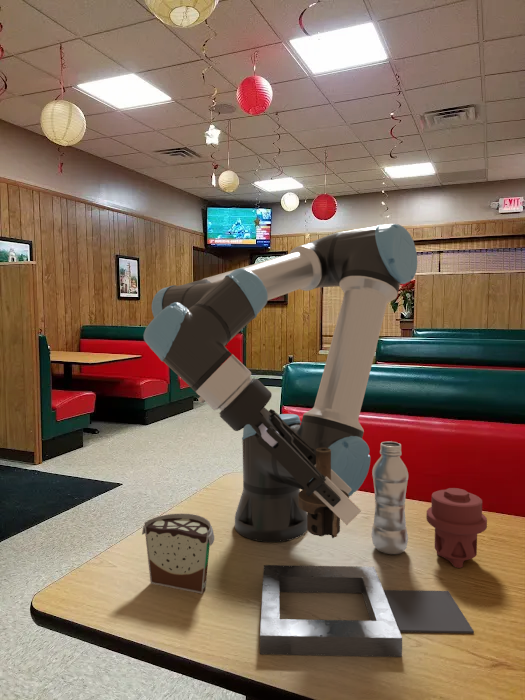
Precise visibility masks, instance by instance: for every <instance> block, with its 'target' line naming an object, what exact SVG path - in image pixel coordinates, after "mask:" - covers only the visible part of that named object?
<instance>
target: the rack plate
mask: <svg viewBox="0 0 525 700" xmlns="http://www.w3.org/2000/svg"><path fill="white" fill-rule="evenodd" d="M262 574H263V577H262V593H261V610H260V611H261V612H260V613H261V614H260V631H259V632H260V633H259V652H260V653H259V654H260V655H280V656H281V655H282V656H283V655H287V656H328V657H329V656H330V657H331V656H333V657H334V656H336V657H337V656H339V657H383V658H386V657H387V658H389V657H390V658H391V657H392V658H402V657H403V637H402V634H401V632H400V631H399V628H398V626H397V623H396V621H395V618H394V616H393V613H392V611H391V608H390V606H389V603H388V600H387V598H386V595H385V593H384V590H385V589H384V588H383V585H382V583H381V581H380V578H379V576H378V573H377V570H376V568H375V566H357V565H355V566H354V565H353V566H351V565H350V566H349V565H348V566H347V565H345V566H343V565H341V566H340V565H290V564H289V565H287V564H286V565H282V564H281V565H280V564H278V565H277V564H273V565H272V564H268V565H267V564H264V565H263V573H262ZM280 593H323V594H324V593H328V594H330V593H333V594H336V593H337V594H339V593H340V594H362V596H363V600H364V603H365V606H366V609H367V610H366V611H367V612H368V616H369V620H363V619H362V620H361V619H359V620H352V619H351V620H349V619H347V620H345V619H302V618H301V619H295V618H294V619H292V618H291V619H290V618H289V619H288V618H284V619H283V618H282V619H281V618H280V617H281V616H280V615H281V614H280Z"/></svg>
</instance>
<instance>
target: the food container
mask: <svg viewBox="0 0 525 700" xmlns="http://www.w3.org/2000/svg"><path fill="white" fill-rule="evenodd" d="M211 524H212V523H211V522H210V521H209V520H208V519H207V518H205V517H203V516H200V515H199V514H198V515H197V514H192V513H170V514H169V513H167V514H162V515H160V516H155V517H153V518H150V519H149V520H147V521H145V522H144V523H143V527H142V530H141V531H142V532H141V535H145V543H146V554H147V563H148V564H147V565H148V573H149V581H150V584H152V585H157V586H161V587H166V588H171V589H172V588H173V589H177V590H181V591H185V592H192V593H197V594H202V595H203V594H204V593H205V591H206V587H207V581H208V580H207V579H208V568H209V557H210V546H212V545H213V544H214V541H215V534H214V529H213V526H212V525H211Z"/></svg>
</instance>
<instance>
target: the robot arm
mask: <svg viewBox="0 0 525 700" xmlns="http://www.w3.org/2000/svg"><path fill="white" fill-rule="evenodd" d="M417 269H418V252H417V248H416V245H415V242H414V240H413V237H412V235H411V234H410V233H409V230H407V229H406V227H404V226H402V224H398V223H389V224H384V223H383V224H382V223H380V224H378V225H376V226H371V227H369V226H368V227H364V228H357V229H352V230H344V231H343V230H342V231H338V232H334V233H331V234H329V235H326V236H323V237H319V238H317V239H315V240H312V241H309V242H306V243H304V244H302V245H298V246H296V247H293V248H292V249H291V250H290V252H288V254H284V255H282V256H281V255H280V256H277V257H274V258H270V259H267V260H264V261H260V262H256V263H254V264H250V265H247V266H244V267H240V268H236V269H233V270H229V271H226V272H223V273H219V274H215V275H211V276H209V277H204V278H202V279H199V280H195V281H190V282H189V283H185V284H181V285H176V284H175V285H174V284H173V285H169V286H167V287H163V288H161V289H160V290H158V291H157V292H156V293H155V295H154V296H153V299H152V300H151V301H152V302H151V311H152V316H153V319H152V320H151V321H150V322H149V324H148V325H147V326H146V327H145V330H144V332H143V341H144V342H145V343H146V344H147V346H148V347H149V349H150V350H151V351H152V352H154V354H155V355H156V356H157V357H158V359H159V360H160V361H161V362H163V363H164V364H165V365H166V366H167V367H168V368H169V369H171V370H172V371H173V372H174V373H175V374H176V375H177V376H178V377H179V378H180V379H181V380H182V381H183V382H184V383H186V385H188V386H189V387H190V388H191V389H192V391H194V392H195V393H196V395H198V396H199V397H198V401H199V403H201V404H204V403H205V402H206V404H207V405H208V406H209V407H210V408H211V409H212V410H213V411H218V410H220V412H219V417H220V418H221V419H222V420H223V421H224V422H225V423H226V424H227V425H228V426H229V427H230V428H231V429H232V430H233V431H235V432H239V431H241V430H243V432H242V437H241V440H242V479H243V481H242V486H243V487H242V493H241V495H240V499H239V502H238V505H237V507H236V508H237V509H236V511H235V515H234V530H235V531H236V532H237V533H238V534H239V535H241V536H242V537H245V538H246V539H249V540H253V541H258V542H267V543H268V542H269V543H278V542H286V541H291V540H295V539H297V538H299V537H301V536H303V535H304V534H305V533H306V532H308V530H307V512H305V511H303V510H302V509H301V508H300V507H299V505H298V494H299V492H300V491H302V490H303V489H306V491H307V492H306V493H305V494H306V495H308V496H310V495H311V494H312V493H314V494H315V495H316V496H317V497H318V498H319V499H320V500H321V501H322V502H324V503H325V504H326V505H327V506H328V507H329V508H330V509H331V510H332V511H333V512H334V513H335V514H336V515H337V516H338V517H339V518H340V521H341V522H342V523H344V524H345V525H346V526H347V525H349V524H350V523H351V522H352V521H353V520H354V519H355V518H356V517H357V516H358V515H360V513H362V509H361V508H359V507H358V506H357V505H356V504H355V502H353V501H352V500H351V499H350V497H351V496H353V494H355V493H356V492H357V491H358V490H359V489H360V488H361V487H362V485H363V484H364V481H365V480H366V478H367V476H368V473H369V470H370V467H371V466H370V465H371V455H370V452H371V451H370V447H369V445H368V443H367V442H366V441H365V440H364V439H363V436H364V433H365V431H364V428H363V427H362V425H361V423H360V421H359V418H360V414H361V409H362V406H363V402H364V398H365V394H366V389H367V387H368V386H367V385H368V381H369V379H370V373H371V369H372V366H373V362H374V358H375V353H376V349H377V345H378V341H379V337H380V334H381V330H382V325H383V321H384V317H385V313H386V310H387V305H388V304H389V303H390V302H392V301H394V300H396V299H397V297H398V295H399V290H400V285H401V284H402V285H405V284H407V283H410V282H411V281H412V280H413V279H414V278H415V275H416V274H417ZM329 287H331V288H332V287H335V288H336V287H340V289H341V290H342V292H343V297H342V300H341V301H342V302H341V305H340V309H339V313H338V316H337V319H336V325H335V328H334V331H333V334H332V339H331V342H330V346H329V350H328V353H327V357H326V361H325V364H324V369H323V371H322V376H321V380H320V383H319V388H318V390H317V394H316V397H315V402H314V405H313V407H312V408H311V409H309V410H308V411H306V412H304V413H303V415H302V419H301V418H300V416H299V415H298V414H294V413H281V414H280V413H279V414H278V413H277V412H276V411H275V410H274V409H272V408H271V409H270V410H268V409H267V408H266V406H267V404H268V403H269V402H270V400H271V399H272V395H273V394H272V392H271V391H270V390H269V389H268V388H267V387H266V386H265V385H264V384H263V383H262V382H261V381H260V380H259V379H258V378H255V377H254V378H252V372H251V371H250V370H249V368H247V367H246V366H245V365H244V364H243V362H241V361H240V360H239V359H238V357H236V356H235V355H234V354H233V353H232V352H230V351H229V349H228V348H227V347H226V346H227V344H229V343H230V341H232V340H233V338H234V337H235V336H237V335H238V334H239V333H240V332H241V331H242V330H243V329H244V328H246V326H247V325H248V324H249V323H250V322H252V321H253V320H255V319H256V318H257V315H258V314H259V313H260V312H261V311H262V310H263V309H264V307H266V305H267V304H268V301H269V300H273V299H276V298H279V297H281V296H284V295H287V294H290V293H292V292H295V291H298V290H301V291H305V292H309V291H312V290H314V289H319V288H329ZM318 448H329V449H331V480H330V479H329V478H328V477H327V476H326V477H325V476H324V475H323V474H321V473H320V472H319V471H318V469H317V468H316V449H318ZM340 489H341V490H343V491H345V492H346V493H347V494H348V495H349V498H348V497H347V496H346V495H345V494H344V493H343V492H342V491H341V490H340Z"/></svg>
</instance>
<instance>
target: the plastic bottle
mask: <svg viewBox="0 0 525 700" xmlns="http://www.w3.org/2000/svg"><path fill="white" fill-rule="evenodd" d="M379 454H380V457H379V458H378V459H377V460H376V462H375V463H374V464H373V467H372V470H371V471H372V472H371V473H372V479H373V488H374V500H375V501H374V503H375V504H374V517H373V523H372V529H371V540H372V544H373V546H374V548H375V549H376V550H377V551H379V552H380V553H383V554H387V555H401V554H402V553H404V551H406V549H407V548H408V543H409V535H408V534H409V533H408V529H407V523H406V511H405V510H406V509H405V508H406V503H405V502H406V493H407V486H408V480H409V472H408V468H407V466H406V464H405V463H404V461H403V460H402V458H401V456H402V444H401V443H398V442H397V441H382V442H381V443H380V450H379Z"/></svg>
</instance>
